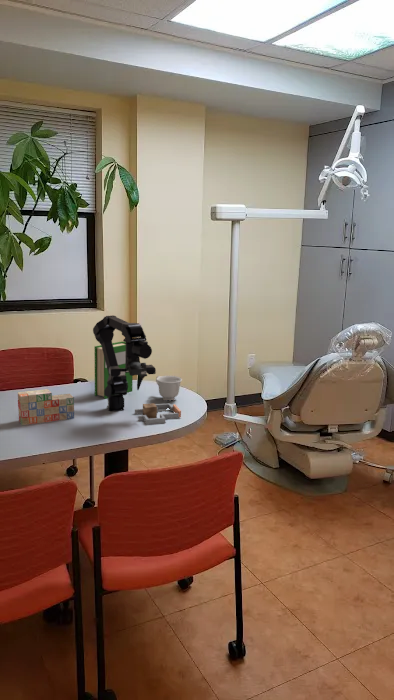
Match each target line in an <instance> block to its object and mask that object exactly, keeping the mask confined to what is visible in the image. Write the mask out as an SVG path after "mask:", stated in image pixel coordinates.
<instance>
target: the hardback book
mask: <svg viewBox="0 0 394 700" xmlns="http://www.w3.org/2000/svg"><path fill="white" fill-rule="evenodd" d="M112 344H113V348H114V352H115V355H116V359H117V363H118V366H119V368H125V351H126V342H124V341H122V340H121V341H117V342H112ZM125 375H126V380H127V382H128V390H127V394H128V393H132V392H133V379H134V378H133V376H131V375H130V374H129V373H125ZM108 377H109V373H108V369H107V365H106V362H105V358H104V354H103V350H102V346H101V344H100V345H94V397H99V396H100V397H103V399H104V400H106V399H107V400H108V397H107V396H105V394H104V390H105V388H106V387H107V386H108V385H107V380H108Z"/></svg>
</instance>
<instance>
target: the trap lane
mask: <svg viewBox="0 0 394 700" xmlns="http://www.w3.org/2000/svg"><path fill="white" fill-rule="evenodd" d="M154 404H155V405H156V406H157V414H158V413H160V414H159V417H157V418H148V417H147V416H146V415H143V408H135V409H134V415H138V421H140V422H144V423H145V424H146V425H154V424H155V425H156V424H166V420H168V418H172V419H180V418H179V417H181V418H182V410H181V409H180V408H179V406H178V405H177V404H171V403H154ZM167 408H169V409H170V410H166V409H167ZM162 411H165V412H168V413H162ZM171 411H174V412H175V413H174V412H171ZM169 412H170V413H169Z"/></svg>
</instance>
